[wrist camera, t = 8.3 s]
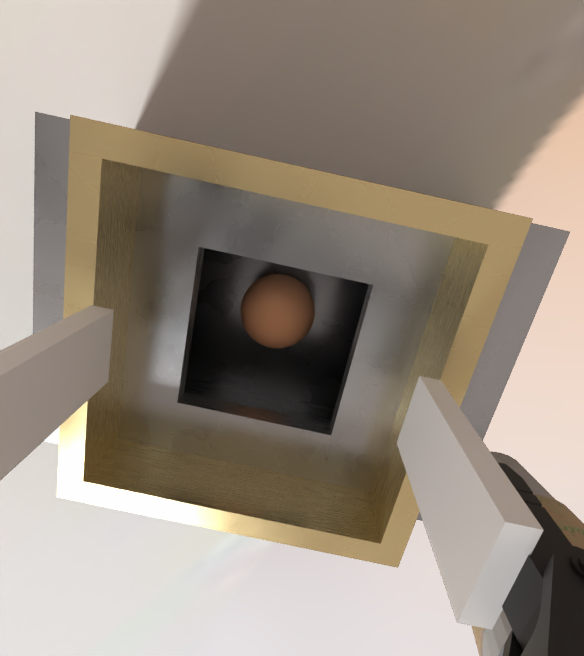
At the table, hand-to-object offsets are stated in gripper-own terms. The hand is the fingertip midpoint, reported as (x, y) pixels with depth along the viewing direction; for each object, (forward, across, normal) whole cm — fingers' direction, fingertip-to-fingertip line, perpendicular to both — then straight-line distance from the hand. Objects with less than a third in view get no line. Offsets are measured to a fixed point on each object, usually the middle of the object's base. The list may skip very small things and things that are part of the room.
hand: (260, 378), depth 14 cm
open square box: (+11, 0, 0) cm, 11 cm away
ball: (+10, 0, 0) cm, 10 cm away
